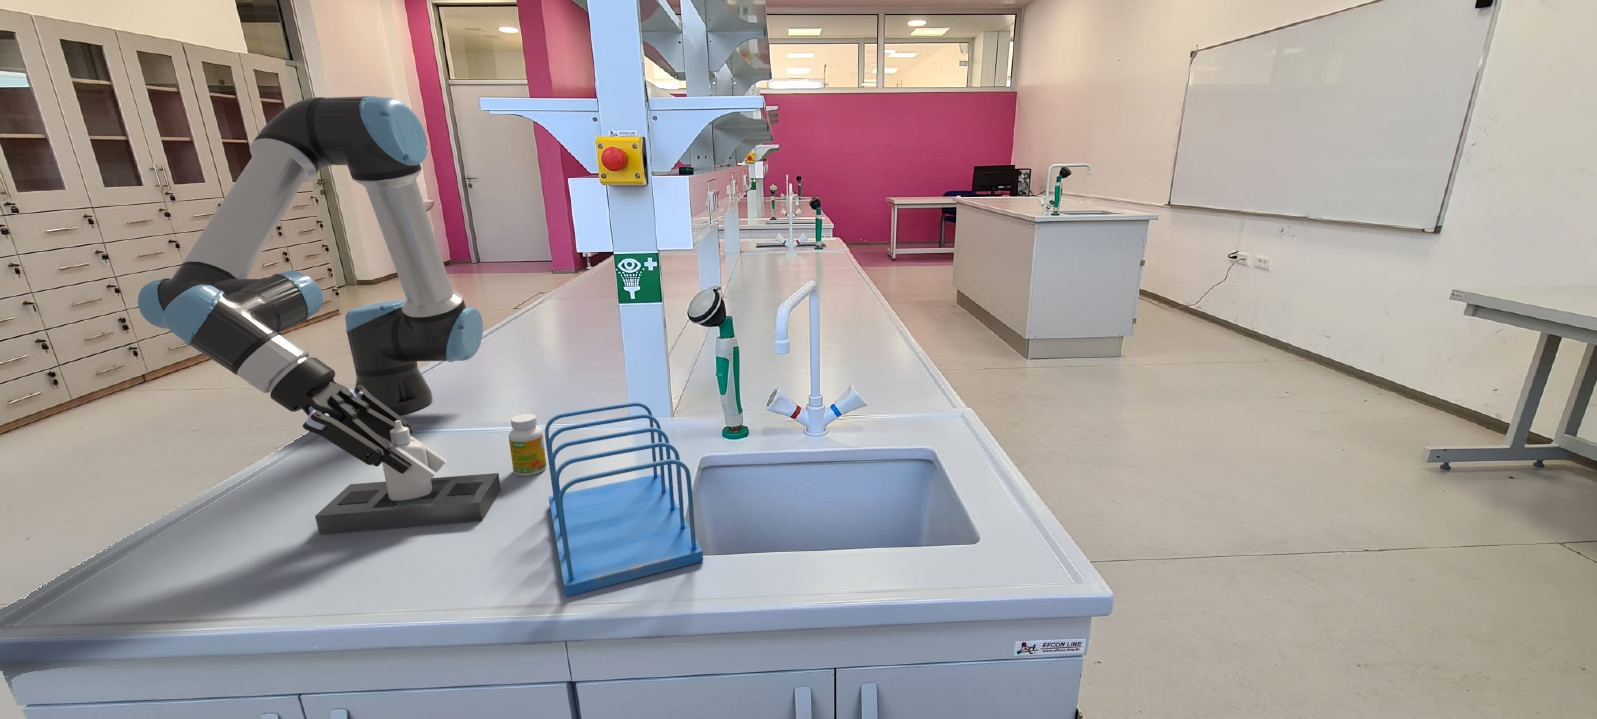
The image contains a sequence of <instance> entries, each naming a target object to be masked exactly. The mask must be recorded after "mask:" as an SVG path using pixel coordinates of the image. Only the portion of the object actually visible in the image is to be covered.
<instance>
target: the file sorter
mask: <svg viewBox="0 0 1597 719" xmlns="http://www.w3.org/2000/svg"><path fill="white" fill-rule="evenodd" d="M632 407H640V408H643V409H644V410H645V411H646V412H647V413H643V414H642V413H641V414H635V415H626V416H620V417H615V418H608V419H601V420H594V421H588V422H584V423H582V422H581V423H578V424H570V425H566V426H562V427H560V428H558V429H556V430H555V431H554V432H553V433H552V434H551V435H549V434H550V433H549V432H550V428H551V426H552V425H553V423H555V422H556V421H557V420H560V419H562V418H567V417H573V416H579V415H586V414H591V413H597V412H599V413H600V412H606V411H612V410H619V409H625V408H632ZM637 419H638V420H640V419H648V420H649V427H644V428H639V429H638V428H637V429H631V430H626V431H621V432H615V433H607V434H604V435H597V436H589V437H585V438H578V439H574V440H570V441H566V442H563V443H561V444H559V445H558V446H557V447H556V448H555V449H554V450H553V442H554V439H555V438H556V437H557V436H558V435H560V434H562V433H563V432H567V431H571V430H577V429H584V428H589V427H594V426H601V425H602V426H603V425H607V424H609V425H610V424H613V423H620V422H621V423H622V422H626V421H632V420H637ZM654 424H655V427H654ZM646 433H650V441H651V442H650V443H647V444H641V445H636V446H629V447H624V448H619V449H612V450H607V451H602V452H597V453H592V454H586V455H580V456H576V457H572V458H569V459H567V460H565V461H564V462H562V463H561V464H560V465H559V466H558V467H557V468H556V458H557V455H558V454H559V453H560V452H561V451H563V450H564V449H565V448H567V447H570V446H571V447H572V446H578V445H583V444H587V443H592V442H598V441H603V440H604V441H605V440H609V439H615V438H622V437H628V436H633V435H641V434H646ZM655 433H657V439H658V442H656V441H655ZM544 438H545V446H546V452H547V460H548V467H549V476H550V480H551V489H552V495H549V496H548V503H549V508H550V514H551V520H552V526H553V531H554V538H555V543H556V544H555V545H556V551H557V556H558V561H559V567H560V572H561V573H560V574H561V579H562V584H563V590H564V591H563V592H564V596H565V597H572V596H575V595H579V594H583V593H587V592H590V591H594V590H598V589H601V588H605V587H609V586H613V585H616V584H621V583H623V582H628V581H631V580H635V579H639V578H643V577H648V576H651V575H655V574H659V573H663V572H666V571H671V570H674V569H677V568H682V567H686V566H690V565H694V564H697V563H700V562H701V563H702V562H703V561H704V556H703V552H704V551H703V549H702V547H701V545H700V543H699V541H698V540H697V538H696V528H695V527H696V526H695V525H696V524H695V513H694V500H693V485H692V477H691V472H690V469H689V468H688V466H687V465H686V464H685V463H684V462H683V461H681V459H680V458H681V457H680V453H679V452H678V450H677V448H676V447H675V446H674V445H672V444H670V441H669V440H670V439H669V437H668V435H667V434H666V433H665V431H663V430H662V428H661V425H660V422H659V420H657V418H655V417H654V416H653V414H652V411H651V409H650V407H648V406H647V405H646V404H644V403H642V402H640V401H639V402H636V401H634V402H627V403H619V404H613V405H606V406H600V407H599V406H598V407H595V408H587V409H582V410H575V411H570V412H569V411H568V412H564V413H559V414H556V415H554V416H553V417H551V418H550V419H549V420H548V422H547V423H546V425H545V428H544ZM663 439H664V441H663ZM656 448H658V454H659V461H657V454H656ZM663 448H665V453H666V459H664V449H663ZM650 449H651V456H652V462H647V463H641V464H637V465H632V466H627V467H626V466H625V467H621V468H617V469H611V470H607V471H602V472H596V473H591V474H587V475H583V476H577V477H575V478H573V479H570V480H569V481H568V482H566V483H565V484H564V485H563V486H562V487H561V488H560V486H561V485H560V475H561V473H562V472H563V470H564V469H565V468H566V467H568V466H569V465H573V464H574V463H579V462H584V461H585V462H586V461H589V460H596V459H601V458H606V457H610V456H617V455H622V454H628V453H634V452H638V451H644V450H650ZM671 451H672V452H673V454H674V458H675V459H674V458H671ZM672 465H675V467H676V484H677V493H678V494H677V495H678V496H677V497H678V504H677V502H676V500H675V497H674V484H673V483H674V482H673V470H672ZM665 466H667V467H666V468H667V476H668V486H667V484H666V476H665V474H666V473H665ZM658 467H659V468H660V469H659V470H660V473H658ZM651 468H652V470H653V474H651V475H647V476H641V477H636V478H633V479H628V480H622V481H617V482H613V483H608V484H602V485H597V486H593V487H592V486H591V487H587V488H583V489H581V488H580V489H578V490H572V491H568V492H566V491H567V490H568V489H569V488H571V487H572V486H574V485H576V484H578V483H582V482H587V481H592V480H598V479H602V478H607V477H612V476H615V475H616V476H617V475H622V474H627V473H630V472H635V471H636V472H637V471H641V470H647V469H651ZM682 469H683V471H684V472H685V477H686V478H685V479H686V489H687V502H688V503H687V504H688V515H689V524H688V522H687V521H686V518H685V514H684V513H685V512H684V511H685V510H684V509H685V508H684V497H683V484H682V483H683V480H682Z"/></svg>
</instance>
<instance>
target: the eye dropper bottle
mask: <svg viewBox="0 0 1597 719" xmlns="http://www.w3.org/2000/svg"><path fill="white" fill-rule="evenodd" d="M410 435H411V434H410V432H409V428H408V427H404V426H403V425H402V423H401V421H400V420H397V421H395V427H394V429H392V430H391V431H390V436H391V441H392V442H391V445H390V446H391V447H392V448H393V451H394V450H395V449H396V448H397V447H399V448H401V449H402V450H404V451H405V452H407V453H408V454H410V455H411V456H412V457H414V458H415V459H417V460H418V461H420V462H421V463H423V464H424V465H426V466H427V467H429V466H428V461H427V455H426V450H425V446H426V445H425V444H424V443H423V444H424V445H425V446H424V445H423V444H422V442H421V443H419V442H412V441H411V438H410ZM381 464H382V469H383V474H384V479H385V482H386V485H387V490H388V495H389V499H390V500H392V501H398V502H400V501H411V500H410V499H413V500H416V499H415V498H419V497H422V496H425V495H428V494H430V493H431V490H432V483H431V480H430V481H429V482H428V483H427V484H426V485H425V486H424V487H423V488H422V487H421V486H419V485H418V484H416V483H415V482H413V481H412V480H410V479H409V478H407V477H406V476H404V475H403V474H401V473H399V472H397V471H396V470H395V469H393V468H392V467H390V466H389V465H387V464H386V463H384V462H382V463H381Z"/></svg>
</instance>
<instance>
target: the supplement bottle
mask: <svg viewBox="0 0 1597 719" xmlns="http://www.w3.org/2000/svg"><path fill="white" fill-rule="evenodd" d="M537 423H538V420H537V416H536V415H535V414H534V413H524V414H523V413H522V414H518V415H515V416H513V417H512V418H511V419H510V425H511V428H512V429H511V430H510V431H509V433H508V442H509V448H510V450H509V451H510V458H511V464H512V469H513V473H514V474H515V475H516V476H518V477H519V476H520V477H529V476H535V475H537V474H540V473H542V472H544V471H545V470H546V468H547V458H546V452H545V451H546V449H545V443H544V435H543V430H542V428H541V427H540V426H538V425H537Z"/></svg>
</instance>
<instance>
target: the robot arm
mask: <svg viewBox="0 0 1597 719" xmlns="http://www.w3.org/2000/svg"><path fill="white" fill-rule="evenodd" d="M427 145H428V138H427V136H426V132H425V129H424V127H423V125H422V123H421V121H420V119H419V117H417V115H416V113H415V112H414V111H413V110H412V109H411V108H410V107H409V106H407V105H406V104H405V103H404V102H403V101H401V100H399V99H396V98H393V97H383V96H381V97H379V96H375V95H371V96H370V95H369V96H367V95H366V96H365V95H363V96H341V97H339V96H337V97H336V96H334V97H325V96H324V97H323V96H320V97H309V98H306V99H302V100H299V101H297V102H295V103H293V104H291V105H289V106H288V107H286V108H285V109H283V110H282V111H280V112H279V113H277V114H276V115H275V116H274V117H272V119H271V120H270V121H268V123H267V124H266V125H265V126H264V127H262V129H261V130H260V131H259V133H258V134H257V136H256V137H255V138H254V140H253V141H252V143H251V144H250V146H249V152H250V155H251V159H250V160H249V161H248V163H247V164H246V165H245V167H244V168H243V170H242V171H241V173H240V175H239V176H238V178H237V179H236V181H235V183H234V184H233V185H232V187H231V188H230V190H229V191H228V193H227V194H226V196H225V197H224V199H223V201H222V202H221V203H220V205H219V207H218V208H217V210H216V211H215V212H214V214H213V215H212V217H211V218H210V220H209V221H208V223H207V225H206V226H205V228H204V229H203V231H202V232H201V234H200V235H199V236H198V239H197V240H196V242H194V244H193V246H192V247H191V249H190V251H189V252H188V253H187V255H186V256H185V258H184V259H183V261H182V263H181V264H180V266H179V268H178V269H176V272H175V273H174V275H173V276H172V277H171V278H166V277H165V278H161V279H155V280H152V281H150V282H148V283H146V284H145V285H144V286H142V288H140V291H139V292H138V297H137V306H138V309H139V312H140V314H141V315H142V318H144V320H146V321H147V323H150V325H152V326H154V327H157V328H161V329H166V330H167V329H168V330H169V331H170V332H171V333H172V334H174V335H175V336H176V337H178V338H179V339H180V340H181V341H183V342H184V343H185V345H187V346H191V347H192V348H193V349H195V350H197V351H199V353H201V354H203V355H204V356H206V357H208V358H209V359H211V360H212V361H214V362H215V363H216V364H219V365H220V366H222V367H223V368H225V369H227V370H228V371H230V372H231V373H232V374H234V375H236V376H237V377H239V378H241V380H244V381H245V382H247V383H248V384H249V385H250V386H252V387H254V388H256V389H257V390H258V391H259V392H261V393H263V394H266V393H267V394H268V393H270V398H271V400H273V401H274V402H276V403H277V404H279V405H281V406H282V407H283V408H285V409H286V410H288V411H289V412H294V413H295V412H299V411H300V410H302V411H303V412H304V413H305V414H306V415H307V416H308V418H307V419H306V420H305V422H304V423H303V424H302V428H303V429H304V430H306V431H309V432H311V433H314V434H316V435H319V436H321V437H322V438H324V439H325V440H327V441H328V442H330V443H331V444H333V445H335V446H336V447H338V448H340V449H341V450H343V451H345V452H347V453H348V454H350V455H351V456H353V457H355V458H356V459H357V460H360V461H361V462H362V463H364V464H366V465H368V466H373V467H379V466H380V465H381V464H382V462H384V463H386V464H387V465H389V466H390V467H392V468H393V469H395V470H396V471H397V472H399V473H401V474H403V475H404V476H406V477H407V478H409V479H410V480H412V481H413V482H415V483H416V484H418V485H419V486H421V487H422V488H423V487H424V486H425V485H426V484H427V483H428V482H429V481H430V480H431V479H432V478H435V477H434V476H436V475H437V473H438V472H439V471H440V470H441V468H442V467H443V466H444V465H445V464H446V463H447V461H448V459H446V458H444V457H443V456H441V455H440V454H438V453H437V452H435V451H434V450H432V449H431V448H430V447H428V446H426V445H425V444H424V443H422V442H421V441H419V439H417V438H415V437H414V436H412V433H414V431H415V428H414V427H413V426H412V423H410V422H408V421H407V420H406V419H404V418H403V417H402V416H400V415H404V414H408V413H411V412H415V411H418V410H420V409H423V408H425V407H427V406H429V405H430V404H431V403H432V402H433V399H434V398H433V393H432V390H431V388H430V387H429V385H428V382H427V381H426V380H425V378H424V376H423V374H422V372H421V371H420V370H419V366H418V362H449V363H454V362H462V361H463V362H464V361H465V362H466V361H468V360H471V359H472V358H473V357H474V356H475V355H476V354H477V352H478V351H479V349H480V347H481V344H482V339H483V334H484V323H483V318H482V314H481V313H480V311H479V310H478V309H477V308H476V307H472V306H466V303H465V300H464V297H463V295H462V294H461V293H460V292H459V291H458V292H457V291H455V290H453V288H452V285H451V283H450V279H449V276H448V273H447V271H446V268H445V264H444V261H443V258H442V257H443V256H442V254H441V251H440V249H439V246H438V245H439V244H438V243H437V238H436V237H435V232H434V230H433V228H432V224H431V221H430V218H429V215H428V212H427V209H426V206H425V203H424V199H423V197H422V193H421V191H420V187H419V184H418V181H417V179H418V176H419V175H420V173H421V172H422V165H421V164H422V163H423V162H424V161H425V160H426V158H427V155H428V148H427V147H426V146H427ZM329 166H347V168H348V171H349V174H350V176H351V180H352V181H354V182H356V183H358V184H360V185H362V186H363V187H364V188H365V191H366V193H367V197H368V198H369V200H370V203H371V206H372V210H373V213H375V217H376V220H377V223H378V226H379V227H380V230H381V231H380V232H381V234H382V236H383V239H384V241H385V244H386V247H387V249H388V252H389V255H390V257H391V260H392V263H393V267H394V268H395V271H396V273H397V277H398V279H399V282H400V284H401V288H402V291H403V294H404V296H405V298H406V300H405V299H402V300H401V299H397V300H390V301H389V300H388V301H382V302H378V303H372V304H368V305H364V306H363V305H362V306H360V307H356V308H353V309H350V310H348V311H347V312H346V314H345V315H344V316H345V317H344V320H345V327H346V328H345V333H346V334H347V339H348V343H349V344H348V345H349V347H350V352H351V356H352V361H353V366H354V367H353V368H354V369H355V370H354V372H355V375H356V376H355V377H356V381H355V385H354V388H353V389H351V388H350V389H349V388H348V387H346V386H344V385H342V384H340V383H337V382H336V381H335V377H336V371H335V370H334V369H333V368H331V367H330V366H328V365H327V364H325V363H324V362H323V361H321V360H320V359H318V358H317V357H309V356H310V352H308V351H307V350H306V349H304V348H303V347H301V346H299V344H297V343H296V342H294V341H292V340H291V339H289V337H287V336H285V335H284V334H282V333H283V332H285V331H287V330H288V329H291V328H292V327H294V326H296V325H298V324H300V323H304V322H306V321H307V320H308V319H309V318H310V317H312V316H313V315H315V314H317V313H318V312H319V311H320V309H322V306H323V303H324V295H323V292H322V290H321V287H320V286H319V284H318V283H317V282H316V281H315V280H314V279H313V278H312V277H310V276H309V275H307V274H305V273H304V272H301V271H297V270H287V271H283V272H281V273H280V272H278V273H274V274H272V275H271V276H270V277H265V278H248V277H249V274H250V273H251V272H252V269H253V268H254V266H255V265H256V263H257V261H258V259H259V258H260V256H261V254H262V253H263V251H264V249H265V248H266V246H267V244H268V243H269V240H270V239H271V237H272V236H273V234H274V232H275V230H276V229H277V227H278V226H279V224H280V222H281V220H283V217H284V215H285V213H286V212H287V210H288V208H289V207H290V205H291V204H292V202H293V200H294V198H295V197H296V195H297V194H298V192H299V190H300V188H302V185H303V183H308V182H311V181H312V180H314V179H315V177H316V176H317V173H319V171H320V170H322V169H324V168H326V167H329ZM397 420H400V421H401V423H402V425H403V426H404V427H408V428H409V432H410V438H411V441H412V442H419V443H422V444H423V445H424V446H425V450H426V455H427V461H428V466H429V467H427V466H426V465H424V464H423V463H421V462H420V461H418V460H417V459H415V458H414V457H412V456H411V455H410V454H408V453H407V452H405V451H404V450H402V449H401V448H399V447H397V448H396V449H395V450H394V451H393V448H392V447H391V445H390V444H389V443H388V442H386V441H385V440H387V441H389V442H390V443H392V441H391V436H390V431H391V430H392V429H394V427H395V421H397ZM383 438H384V439H385V440H384V439H383Z"/></svg>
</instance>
